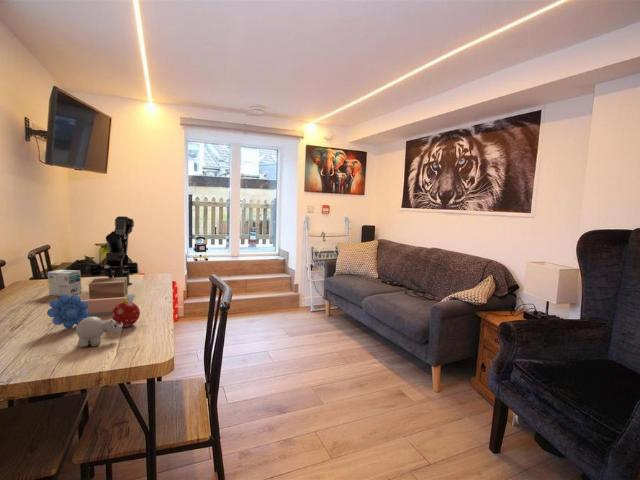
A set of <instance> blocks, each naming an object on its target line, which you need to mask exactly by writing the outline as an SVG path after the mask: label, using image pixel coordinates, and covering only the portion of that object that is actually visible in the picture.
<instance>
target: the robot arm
mask: <svg viewBox="0 0 640 480" xmlns="http://www.w3.org/2000/svg"><path fill="white" fill-rule="evenodd" d="M114 226H115V228H114V230H113V231H111V232H110V233H108V234H107V235H106V236H105V242H106V244H107V248H108V252H106V253H105V264H104V266H101V264H100V263H90V264H89V265H88V268H87V269H88V272H89V275H90V276H92V277H94V276H95V277H96V276H97V277H98V276H100V275H101V274H102V272H103V273H104V276H105V277H107V278H118V277H127V287H128V286H130V285H133V283H132V282H130V275H133V274H134V275H135V274H139V265H138V263H137V261H135V262H131V261H130V258H129V255H128V249H129V248H128V247H129V235H130V234H131V233H132V232H133V228H134V227H135V221H134V219H133V218H130V217H128V216H119V215H118V216H117V217H116V218H115V219H114Z"/></svg>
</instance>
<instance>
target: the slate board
mask: <svg viewBox="0 0 640 480" xmlns="http://www.w3.org/2000/svg"><path fill="white" fill-rule="evenodd" d="M134 299H135V294H128V299H127V300H128V302H132V303H133V301H134ZM102 316H103V317H104V316H105V317H106V316H112V312H101V313H90V315H89V317H102Z"/></svg>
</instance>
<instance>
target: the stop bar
mask: <svg viewBox="0 0 640 480" xmlns="http://www.w3.org/2000/svg"><path fill="white" fill-rule="evenodd" d="M125 298H127V297H118V298H104V299H90V300H89V299H81V301H85V302H87V303H88V308H87V309H85V310H88V311H89V313H101V312H112V311H113V309H114V308H115V307H116V306H117V305H118V304H120V303H122V302H123V300H124V299H125ZM81 301H80V302H81Z"/></svg>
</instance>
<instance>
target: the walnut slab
mask: <svg viewBox="0 0 640 480" xmlns="http://www.w3.org/2000/svg"><path fill="white" fill-rule="evenodd" d="M128 291H129V289H128V286H127V277H118V278H109V277H102V278H100V277H99V278H94V279H93V280H91V281H90V283H88V295H89V296H88V297H89V299H88V300H90V299H104V298H118V297H126V295H127V293H129V292H128Z"/></svg>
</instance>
